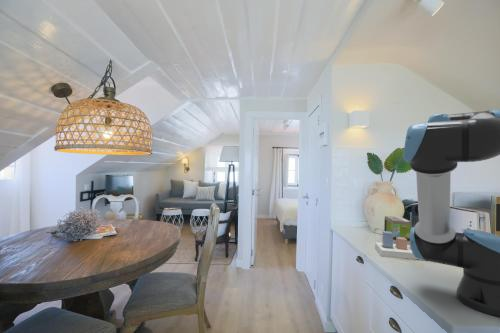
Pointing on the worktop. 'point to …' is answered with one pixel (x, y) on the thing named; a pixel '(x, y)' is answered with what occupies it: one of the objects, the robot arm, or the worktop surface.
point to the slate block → (387, 239)
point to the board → (394, 251)
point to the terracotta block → (401, 243)
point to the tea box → (398, 227)
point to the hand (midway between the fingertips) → (438, 203)
